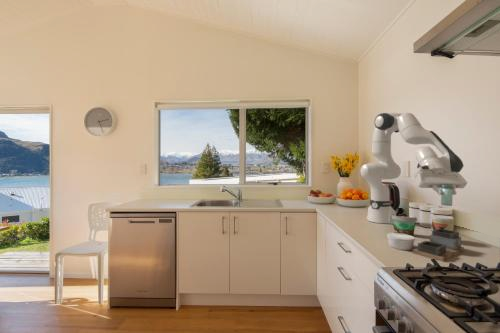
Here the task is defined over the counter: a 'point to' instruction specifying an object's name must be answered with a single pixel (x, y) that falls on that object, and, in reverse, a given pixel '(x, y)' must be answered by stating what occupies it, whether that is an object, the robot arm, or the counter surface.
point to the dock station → (440, 245)
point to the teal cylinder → (446, 195)
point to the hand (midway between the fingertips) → (447, 194)
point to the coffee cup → (442, 222)
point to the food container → (404, 225)
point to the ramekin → (400, 241)
